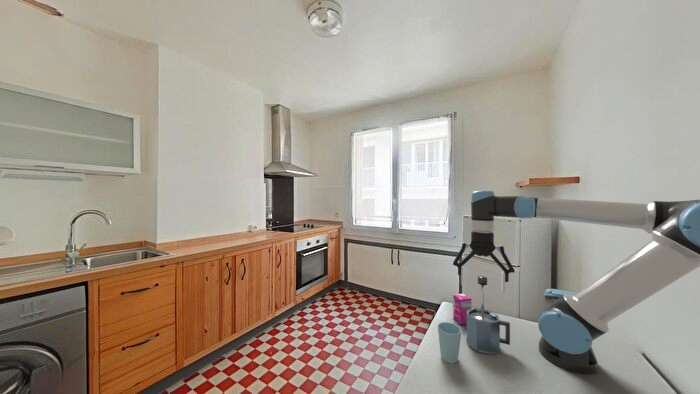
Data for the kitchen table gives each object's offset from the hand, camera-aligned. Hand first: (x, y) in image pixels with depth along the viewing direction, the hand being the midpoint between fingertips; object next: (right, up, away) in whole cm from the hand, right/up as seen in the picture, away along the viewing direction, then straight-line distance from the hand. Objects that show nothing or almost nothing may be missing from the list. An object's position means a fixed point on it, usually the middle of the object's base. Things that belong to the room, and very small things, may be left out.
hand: (482, 287), depth 89 cm
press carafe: (+1, -22, -1) cm, 22 cm away
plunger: (0, -12, 0) cm, 12 cm away
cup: (-16, -22, -7) cm, 28 cm away
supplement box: (+1, -23, +17) cm, 28 cm away
